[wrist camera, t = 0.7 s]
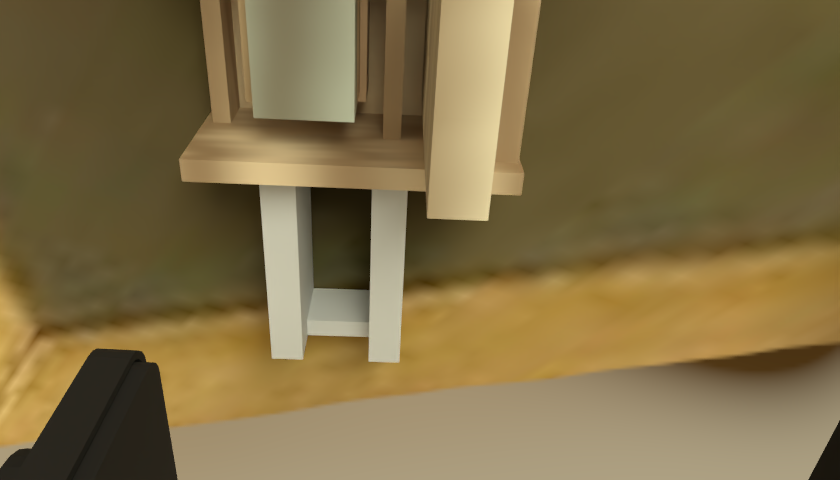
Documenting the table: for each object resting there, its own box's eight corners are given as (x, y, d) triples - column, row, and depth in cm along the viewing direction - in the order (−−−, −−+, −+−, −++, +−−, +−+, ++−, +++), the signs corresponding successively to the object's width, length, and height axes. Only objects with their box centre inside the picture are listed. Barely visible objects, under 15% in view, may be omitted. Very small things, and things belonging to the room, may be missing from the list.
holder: (408, 139, 35) (408, 184, 31) (400, 305, 41) (399, 362, 36) (276, 133, 35) (258, 177, 31) (286, 301, 40) (272, 358, 36)
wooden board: (477, -64, 29) (514, 0, 19) (463, 95, 33) (487, 220, 23) (430, -67, 29) (441, -4, 19) (421, 93, 33) (427, 218, 23)
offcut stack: (370, -65, 29) (363, -42, 25) (368, 86, 33) (361, 132, 28) (251, -71, 29) (221, -50, 24) (261, 82, 33) (236, 126, 28)
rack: (532, -119, 29) (564, -102, 23) (501, 131, 35) (521, 195, 29) (195, -138, 29) (140, -126, 23) (221, 118, 35) (182, 181, 29)
